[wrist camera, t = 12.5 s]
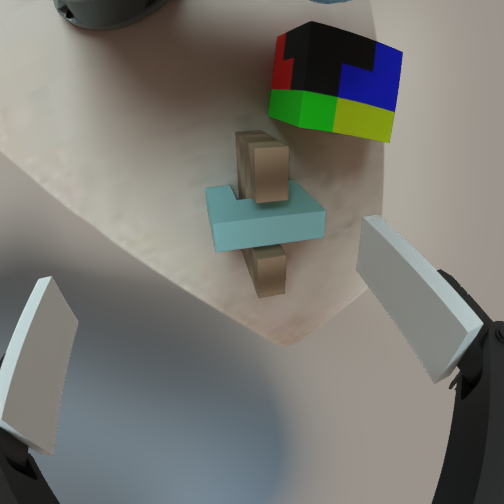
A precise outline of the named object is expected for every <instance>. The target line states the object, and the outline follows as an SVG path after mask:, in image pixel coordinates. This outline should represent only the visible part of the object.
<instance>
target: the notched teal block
mask: <svg viewBox="0 0 504 504" xmlns="http://www.w3.org/2000/svg"><path fill="white" fill-rule="evenodd" d="M205 191H206V200H207V210H208V216H209V221H210V226H211V231H212V236H213V241H214V246H215V251H216V252H223V251H230V250H237V249H244V248H252V247H259V246H266V245H273V244H281V243H288V242H295V241H303V240H310V239H318V238H324V231H325V220H326V210H325V209H324V208H323V207H322V206H321V205H320V204H319V203H318V202H317V201H315V200H314V199H313V198H312V197H311V196H310V195H309V194H308V193H307V192H306V191H305V190H304V189H303V188H302V187H301V186H299V185H298V184H297V183H296V182H295V181H294V180H288V200H284V201H273V202H264V203H256V202H255V201H254V199H253V198H251V199H242V200H236V198H235V195H234V193H233V191H232V189H231V187H230V185H228V186H220V187H211V188H205Z"/></svg>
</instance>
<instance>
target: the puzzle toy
mask: <svg viewBox="0 0 504 504" xmlns="http://www.w3.org/2000/svg"><path fill="white" fill-rule="evenodd" d="M402 55H403V52H401V51H399V50H396V49H394V48H392V47H389V46H387V45H384V44H382V43H379V42H377V41H374V40H371V39H369V38H366V37H363V36H360V35H357V34H354V33H351V32H348V31H345V30H342V29H339V28H335V27H332V26H328V25H325V24H321V23H317V22H313V21H310V22H308V23H306V24H303V25H301V26H299V27H297V28H295V29H293V30H291V31H289V32H287V33H285V34H283V35H281V36H279V37H277V44H276V52H275V61H274V70H273V78H272V87H271V96H270V104H269V113H268V116H269V117H272V118H275V119H277V120H280V121H283V122H286V123H288V124H291V125H293V126H296V127H300V128H307V129H315V130H321V131H328V132H334V133H340V134H346V135H351V136H357V137H362V138H367V139H372V140H377V141H381V142H386V143H389V142H390V137H391V131H392V125H393V119H394V114H395V108H396V102H397V95H398V88H399V81H400V73H401V65H402Z"/></svg>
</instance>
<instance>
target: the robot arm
mask: <svg viewBox="0 0 504 504" xmlns="http://www.w3.org/2000/svg"><path fill="white" fill-rule="evenodd" d="M167 1H168V0H53V2H54V5H55V7H56V9H57V11H58V12H59V14H60V15H61V16H62V17H63V18H64V19H66V20H67V21H69V22H70V23H72V24H74V25H76V26H78V27H81V28H84V29H89V30H111V29H117V28H121V27H124V26H128V25H130V24H133V23H135V22H138V21H140V20H142V19H143V18H145V17H147V16H149V15H150V14H152V13H153V12H155V11H156V10H158V9H159V8H160V7H161V6H163V5H164V4H165V3H166V2H167ZM310 1H313V2H316V3H322V4H332V3H338V2H347V1H351V0H310ZM356 270H357V272H358V273H359V274H360V276H361V277H362V278H363V280H364V281H365V282H366V284H367V285H368V286H369V288H370V289H371V290H372V292H373V293H374V295H375V296H376V297H377V299H378V300H379V302H380V303H381V304H382V306H383V307H384V309H385V310H386V311H387V313H388V314H389V316H390V317H391V319H392V320H393V321H394V323H395V324H396V326H397V327H398V328H399V330H400V331H401V333H402V335H403V336H404V337H405V339H406V341H407V342H408V344H409V345H410V346H411V348H412V350H413V351H414V353H415V354H416V356H417V357H418V359H419V360H420V362H421V363H422V365H423V367H424V368H425V370H426V371H427V373H428V374H429V376H430V378H431V379H432V381H433V383H434V384H435V383H437V382H439V381H441V380H442V379H444V378H446V377H448V376H449V375H450V374H451V373H452V372H453V370H454V369H455V367H456V366H457V367H458V368H459V369H460V372H459V373H458V375H457V376H456V377H455V379H454V380H453V381H452V382H451V384H450V387H449V389H452V388H453V386H454V385H455V384H456V383H457V386H456V388H455V390H456V396H455V404H454V411H453V418H452V424H451V430H450V435H449V440H448V446H447V450H446V454H445V459H444V463H443V467H442V471H441V474H440V478H439V481H438V485H437V488H436V492H435V495H434V498H433V501H432V504H504V322H503V321H495V322H493V321H492V320H491V319H490V318H489V317H488V316H487V314H486V313H485V312H484V311H483V310H482V309H481V307H480V306H479V305H478V304H477V303H476V302H475V301H474V299H473V298H472V297H471V296H470V295H469V294H467V292H466V291H465V290H464V289H463V287H461V286H460V284H459V283H458V282H457V281H456V280H455V279H454V278H453V277H452V276H451V275H449V274H447V273H446V272H444V271H442V270H441V269H440V270H437V271H436V270H435V269H434V267H433V266H431V264H430V263H428V262H427V260H426V259H425V258H424V257H423V256H422V255H421V254H420V253H419V252H418V251H417V250H416V249H414V248H413V247H412V246H411V245H410V244H409V243H408V242H407V241H406V240H405V239H404V238H403V237H402V236H401V235H400V234H399V233H398V232H397V231H395V230H394V229H393V228H392V227H391V226H390V225H389V224H388V223H387V222H386V221H384V220H383V219H382V218H381V217H380V216H379V215H372V216H366V217H363V220H362V229H361V237H360V245H359V252H358V259H357V266H356ZM78 323H79V322H78V320H77V319H76V317H75V316H74V314H73V313H72V311H71V309H70V307H69V306H68V304H67V302H66V301H65V299H64V297H63V295H62V294H61V292H60V290H59V288H58V286H57V285H56V283H55V281H54V279H53V277H52V276H50V277H46V278H41V279H39V280H38V281H37V283H36V285H35V287H34V289H33V292H32V293H31V296H30V298H29V300H28V302H27V304H26V306H25V308H24V310H23V313H22V315H21V317H20V319H19V322H18V324H17V326H16V329H15V331H14V334H13V336H12V339H11V341H10V344H9V346H8V349H7V352H6V353H5V354H4V356H3V357H2V358H1V360H0V504H60V503H59V501H58V500H57V498H56V497H55V495H54V494H53V492H52V490H51V489H50V487H49V486H48V484H47V482H46V480H45V478H44V477H43V475H42V473H41V471H40V470H39V468H38V466H37V464H36V462H35V460H34V458H33V457H32V456H31V454H29V453H28V447H30V448H31V449H33V450H34V451H36V452H37V453H40V454H46V455H52V456H54V449H55V438H56V430H57V423H58V415H59V409H60V403H61V397H62V391H63V386H64V381H65V376H66V371H67V367H68V362H69V357H70V354H71V349H72V345H73V341H74V337H75V333H76V330H77V326H78Z"/></svg>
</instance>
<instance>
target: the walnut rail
mask: <svg viewBox="0 0 504 504" xmlns="http://www.w3.org/2000/svg"><path fill="white" fill-rule="evenodd" d="M236 150H237V170H238V190H239V200H242V199H251V198H253V199H254V201H255V202H256V203H264V202H273V201H284V200H288V180H289V147H288V146H287V145H285V144H283V143H282V142H280V141H278V140H277V139H275V138H273V137H272V136H270V135H268V134H266V133H265V132H263V131H244V132H236ZM242 253H243V256H244V259H245V261H246V264H247V267H248V270H249V273H250V276H251V278H252V281H253V284H254V287H255V290H256V292H257V295H258V298H261V297H267V296H273V295H279V294H285V280H286V256H287V255H286V254H285V252H284V250H283V248H282V247H281V245H280V244H273V245H266V246H259V247H252V248H244V249H242Z"/></svg>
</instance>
